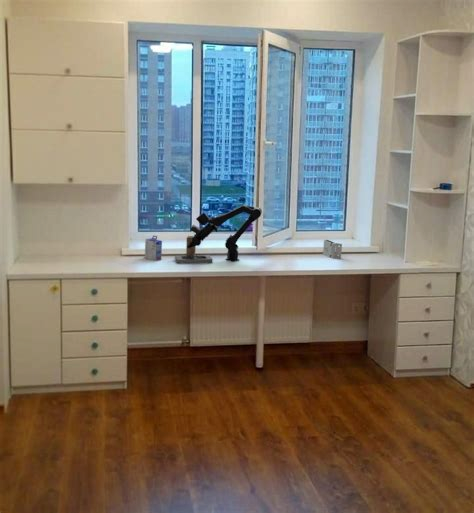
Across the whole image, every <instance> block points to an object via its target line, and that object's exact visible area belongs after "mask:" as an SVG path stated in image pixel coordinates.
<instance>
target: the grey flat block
mask: <svg viewBox="0 0 474 513" xmlns="http://www.w3.org/2000/svg"><path fill="white" fill-rule="evenodd" d="M174 260H175V262H176V263H177V264H213V257H212V256H211V255H209V254H206V255H204V254H203V255H201V254H200V255H199V254H197V255H196V254H195V256H186V255H175V258H174Z"/></svg>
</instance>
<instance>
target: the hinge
mask: <svg viewBox="0 0 474 513" xmlns="http://www.w3.org/2000/svg"><path fill="white" fill-rule="evenodd" d="M322 248H323V250H322V255H323V256H326V257H328V258H330V259H342V250H343V243H341V242H340V243H339V242H335V241H332V240H330V239H324V240H323V247H322Z"/></svg>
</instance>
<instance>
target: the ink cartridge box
mask: <svg viewBox="0 0 474 513" xmlns="http://www.w3.org/2000/svg"><path fill="white" fill-rule="evenodd" d="M144 243H145V244H144V258H145V259H147V260H151V261H155V262H156V261H161V260H162V254H163V253H162V247H163V241H162V240H160V239H158V235H152V237H151V238H145V242H144Z"/></svg>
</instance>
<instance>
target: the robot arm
mask: <svg viewBox="0 0 474 513" xmlns="http://www.w3.org/2000/svg"><path fill="white" fill-rule="evenodd" d="M262 212H263V211H262V209H261V207H258V206H257V207H254V206H252V205H251V206H250V205H246V204H242V205H240V206H239V207H237V208H235V209H233V210H231V211H229V212H226V213H223V214H219V215H216V216H215V217H214V216H213V217H209V216H208V215H207V214H206V212H205V211H203V212H202V213H201V214H200V215H198V216H197V217H196V218H195V219H196V221H197V222H198V223H199V224H200V226H203V227H201V228H200V227H199V226H197V225H195V224H192V225H191V227H190V229H189V231H190V232H192V233H195V234H194V235H193V236H194V237H192V242H191V243H190V244H189V246H188V248H191V247H194V246H196V247H199V246H201V244H202V242H203V241H204V240H205V239H206V238H207V237H209V235H211V234H212V233H213V232H214V231H215V232H216V233H217V232H218V230H219V227H220V226H222V225H223V224H224V223H225V222H226V221H228V220H230V219H233V218H234V217H236V216H238V215H241V214H242V213H246V214H247V215H249V216H248V218H247V219H246V220H245V221H244V223H243V224H242V225H241V226H240V227H239V228H238V230H237V231H236V232H235V233H234V234H233V235H232V234H230V235H229V237H227V238H226V240H225V243H224V246H225V248H226V249H227V252H226V254H227V256H226V257H227V258H225V260H226V261H229V262H237V261H240V259H239V251H238V249H239V246H238V244H237V242H238V240H239V239H240V238H241V236H243V234H245V232H246V230H247V229H248V228H249V227H251V225H252V223H254V222H255V221H256V220H258V219H259V218H260V217H261V215H262V214H263V213H262Z"/></svg>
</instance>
